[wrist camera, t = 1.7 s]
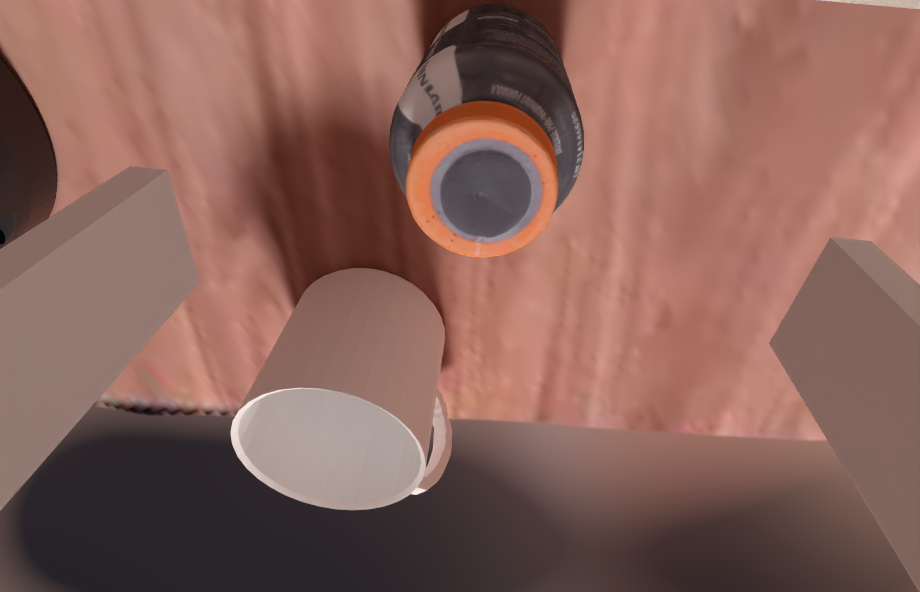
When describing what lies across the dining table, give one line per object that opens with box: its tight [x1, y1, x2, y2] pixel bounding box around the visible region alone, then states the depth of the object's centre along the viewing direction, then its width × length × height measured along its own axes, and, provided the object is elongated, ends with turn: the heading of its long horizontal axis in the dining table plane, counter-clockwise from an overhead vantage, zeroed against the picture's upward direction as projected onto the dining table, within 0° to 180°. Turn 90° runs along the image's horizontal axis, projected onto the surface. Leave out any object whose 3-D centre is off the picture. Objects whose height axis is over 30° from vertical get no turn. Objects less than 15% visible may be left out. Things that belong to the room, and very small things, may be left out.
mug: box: [231, 268, 452, 510], centre depth 28 cm, size 12×9×9 cm
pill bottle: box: [389, 4, 584, 257], centre depth 17 cm, size 6×6×11 cm
